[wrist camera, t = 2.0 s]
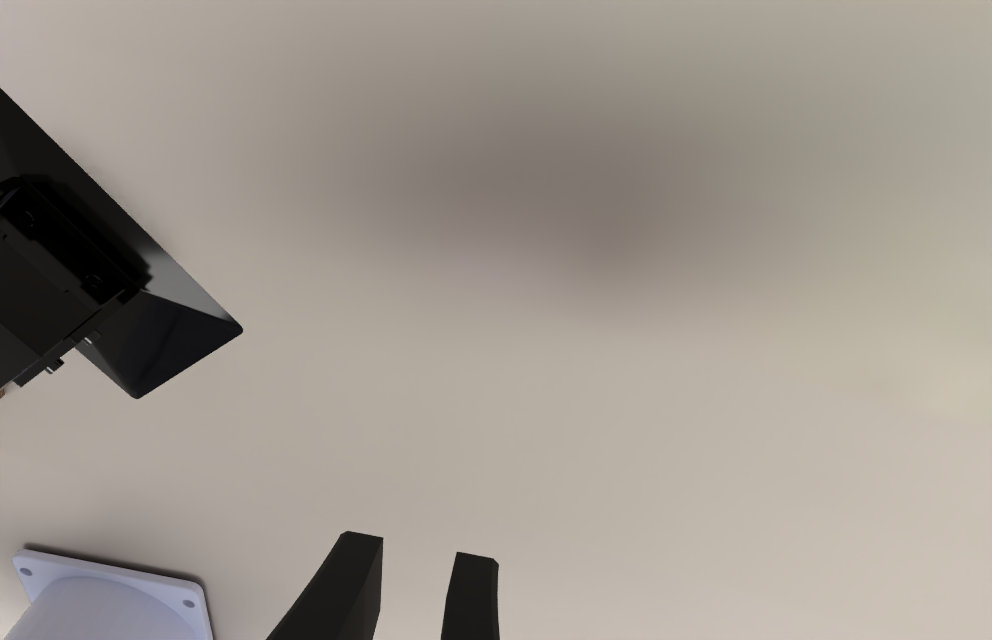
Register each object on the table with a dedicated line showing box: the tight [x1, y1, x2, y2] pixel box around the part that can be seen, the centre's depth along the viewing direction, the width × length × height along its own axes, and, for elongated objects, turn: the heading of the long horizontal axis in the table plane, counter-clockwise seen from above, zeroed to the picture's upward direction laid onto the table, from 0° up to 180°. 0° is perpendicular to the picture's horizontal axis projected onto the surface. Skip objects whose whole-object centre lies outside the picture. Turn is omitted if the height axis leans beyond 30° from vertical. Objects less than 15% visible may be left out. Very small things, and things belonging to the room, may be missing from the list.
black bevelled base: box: [0, 88, 243, 399], centre depth 17 cm, size 12×7×5 cm, turn 35°
